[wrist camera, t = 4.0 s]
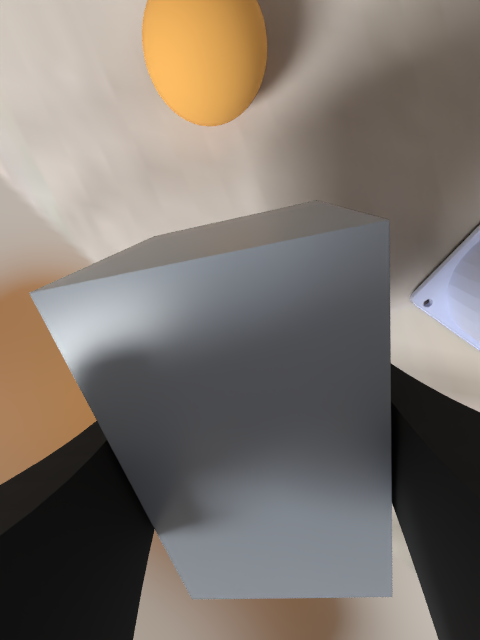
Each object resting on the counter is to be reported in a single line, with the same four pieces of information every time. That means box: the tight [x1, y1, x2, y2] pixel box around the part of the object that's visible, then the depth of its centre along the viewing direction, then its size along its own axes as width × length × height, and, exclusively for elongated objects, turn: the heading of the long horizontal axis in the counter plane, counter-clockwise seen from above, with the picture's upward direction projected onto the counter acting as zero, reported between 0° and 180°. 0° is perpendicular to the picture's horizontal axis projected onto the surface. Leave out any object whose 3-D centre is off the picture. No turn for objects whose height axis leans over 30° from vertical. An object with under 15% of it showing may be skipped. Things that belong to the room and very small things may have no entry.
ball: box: [142, 0, 267, 126], centre depth 12 cm, size 5×5×5 cm
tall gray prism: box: [29, 200, 392, 599], centre depth 10 cm, size 10×6×6 cm, turn 12°
